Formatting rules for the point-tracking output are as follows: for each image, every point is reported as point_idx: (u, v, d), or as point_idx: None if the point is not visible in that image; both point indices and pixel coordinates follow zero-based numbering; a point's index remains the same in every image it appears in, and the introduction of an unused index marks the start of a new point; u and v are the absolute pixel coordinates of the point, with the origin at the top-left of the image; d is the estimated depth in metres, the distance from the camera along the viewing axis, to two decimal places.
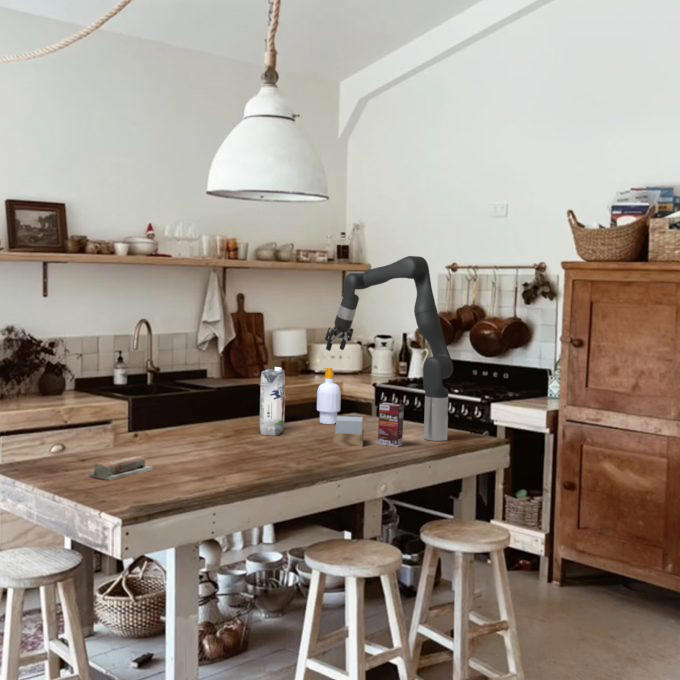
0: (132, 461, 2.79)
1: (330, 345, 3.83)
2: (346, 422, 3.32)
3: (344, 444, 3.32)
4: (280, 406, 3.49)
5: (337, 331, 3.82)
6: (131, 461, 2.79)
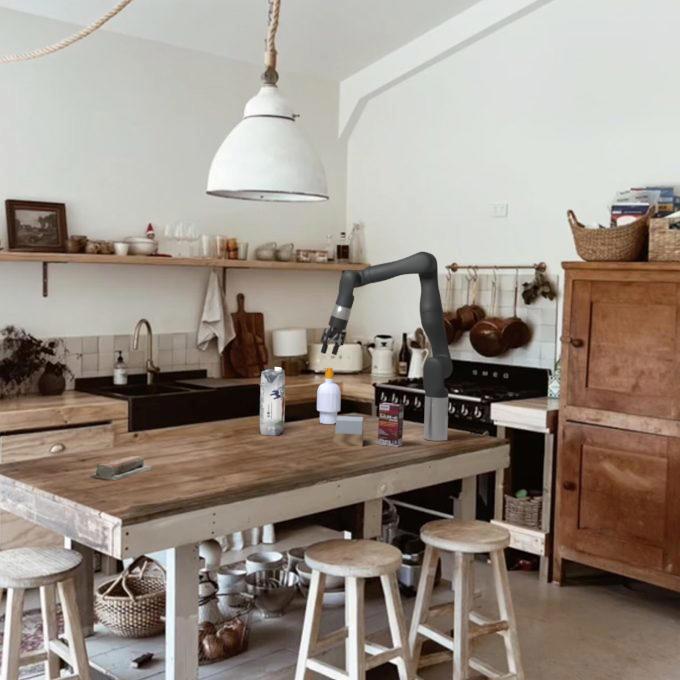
0: (132, 461, 2.79)
1: (326, 347, 3.62)
2: (346, 422, 3.32)
3: (344, 444, 3.32)
4: (280, 406, 3.49)
5: (333, 332, 3.62)
6: (131, 461, 2.79)
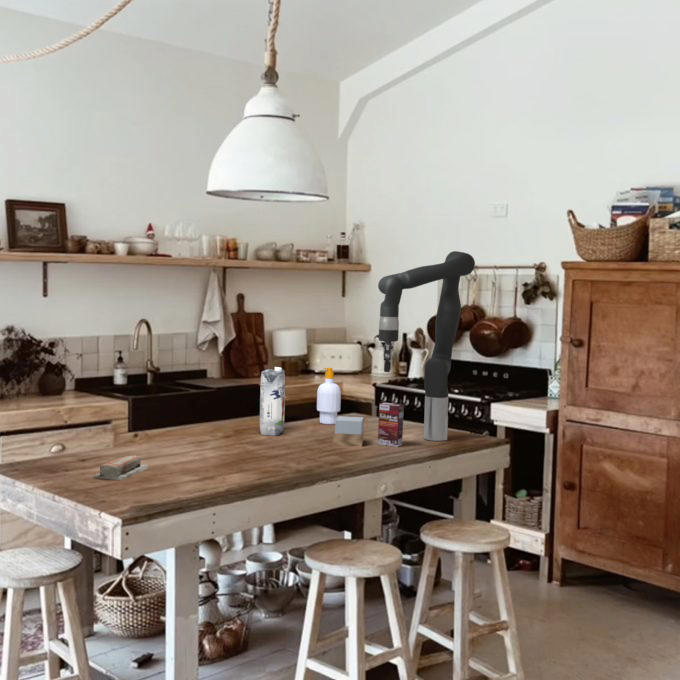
0: (132, 460, 2.80)
1: (389, 365, 3.30)
2: (345, 422, 3.32)
3: (344, 444, 3.32)
4: (280, 406, 3.49)
5: (390, 346, 3.31)
6: (132, 460, 2.80)
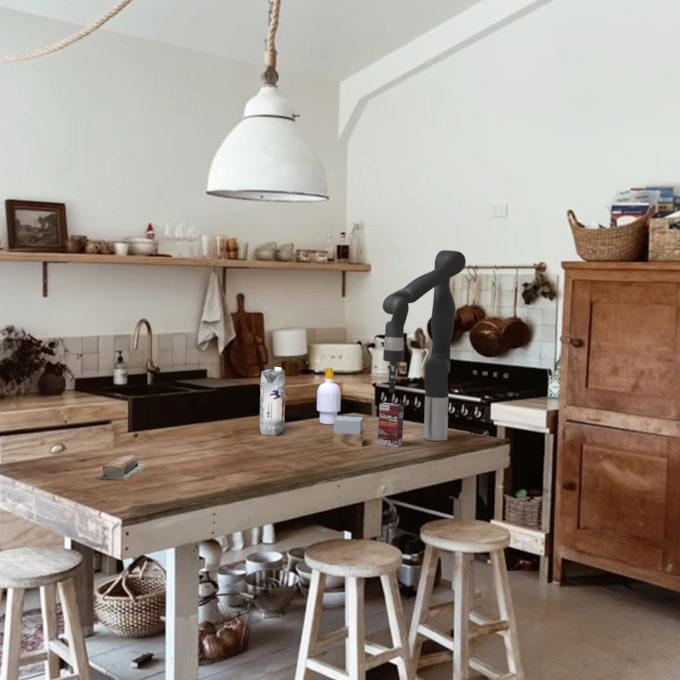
0: (132, 460, 2.81)
1: (394, 385, 3.31)
2: (344, 422, 3.32)
3: (344, 444, 3.33)
4: (280, 406, 3.49)
5: (395, 367, 3.31)
6: (131, 460, 2.80)
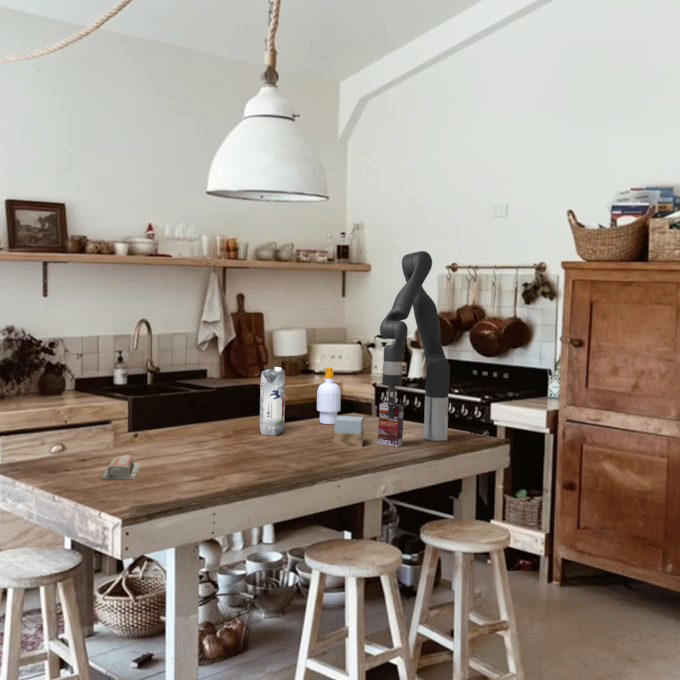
0: (131, 459, 2.81)
1: (393, 411, 3.32)
2: (345, 422, 3.33)
3: (344, 444, 3.32)
4: (280, 406, 3.49)
5: (394, 391, 3.32)
6: (131, 459, 2.81)
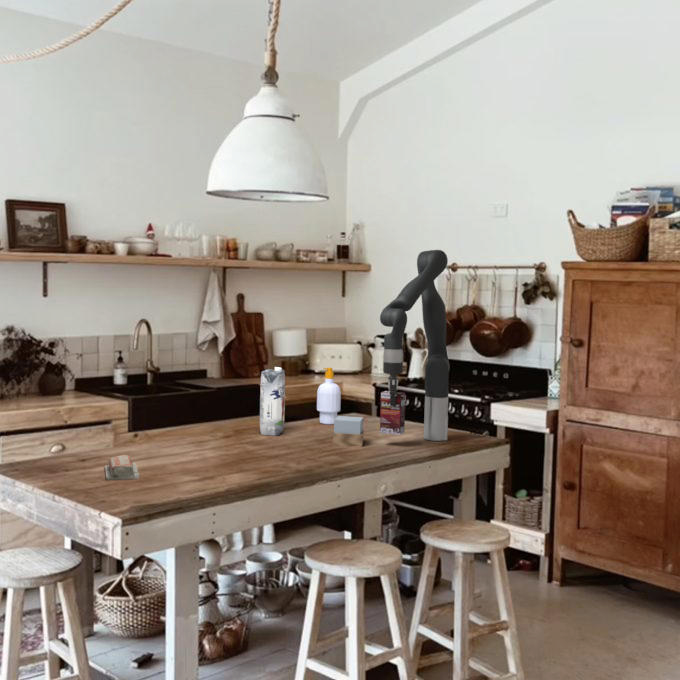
0: (130, 459, 2.82)
1: (395, 399, 3.31)
2: (344, 422, 3.33)
3: (344, 444, 3.32)
4: (280, 406, 3.49)
5: (396, 379, 3.31)
6: (130, 459, 2.81)
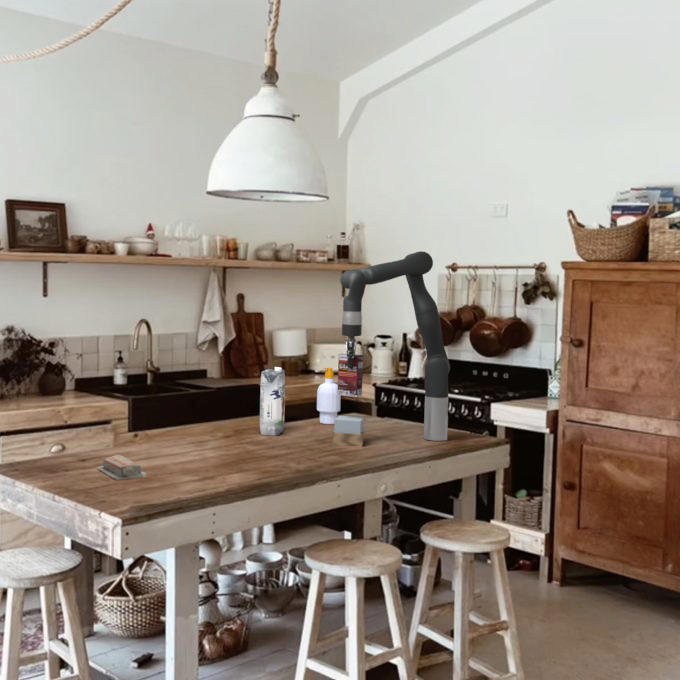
0: (127, 459, 2.82)
1: (352, 361, 3.32)
2: (345, 422, 3.32)
3: (344, 444, 3.32)
4: (280, 406, 3.49)
5: (353, 341, 3.32)
6: (128, 459, 2.82)
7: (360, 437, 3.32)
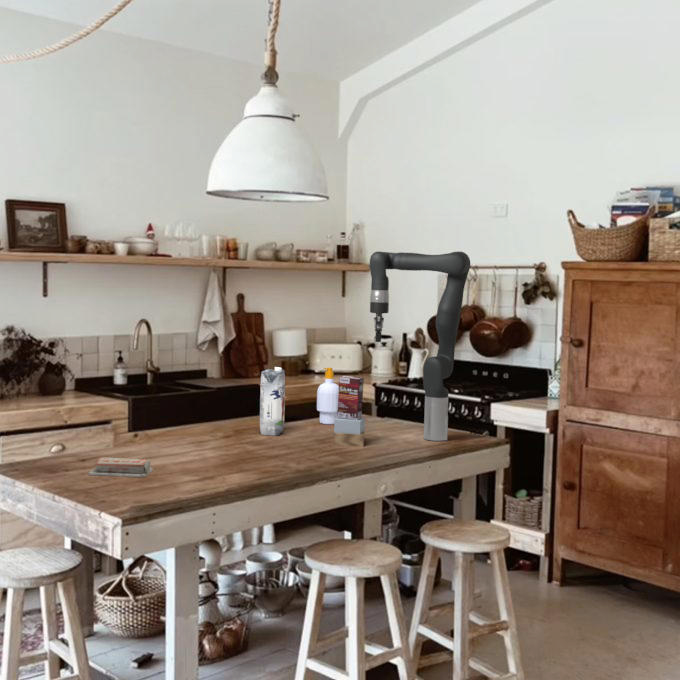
0: None
1: (380, 335, 3.51)
2: (344, 422, 3.33)
3: (345, 444, 3.33)
4: (280, 406, 3.49)
5: (381, 318, 3.52)
6: None
7: (361, 437, 3.32)
